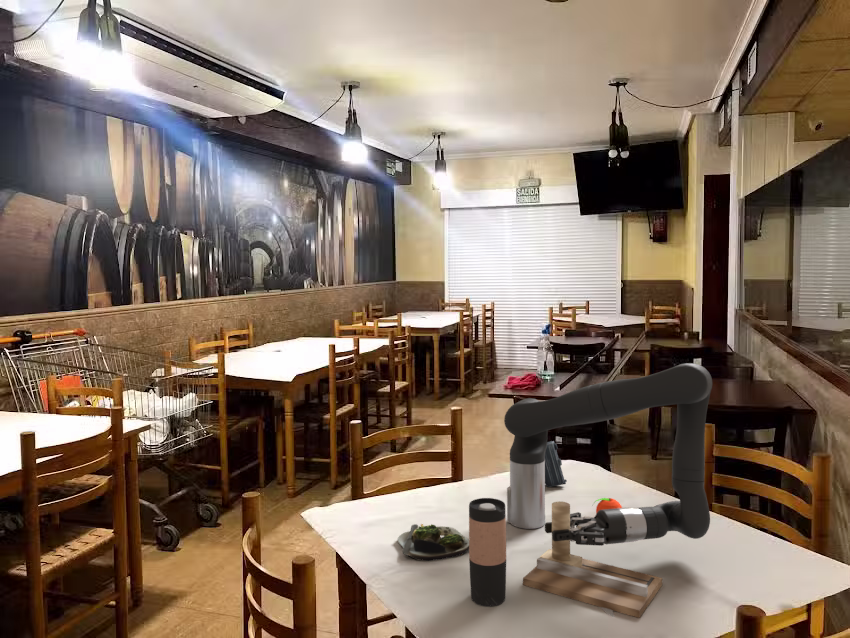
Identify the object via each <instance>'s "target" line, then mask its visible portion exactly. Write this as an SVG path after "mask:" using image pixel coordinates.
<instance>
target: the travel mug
mask: <svg viewBox="0 0 850 638" xmlns="http://www.w3.org/2000/svg"><path fill="white" fill-rule="evenodd" d="M468 503H469V505H468V540H469V549H468V560H469V561H468V562H469V563H468V564H469V578H470V579H469V581H470V597H471V601H472V602H473V603H475V605H479V606H482V607H497V606H500V605H502V604H503V603H504V602H505V601H506V595H507V593H506V592H507V589H506V588H507V587H506V586H507V525H506V524H507V522H506V521H507V520H506V519H507V518H506V517H507V513H506V504H505V502H504V501H503V500H500V499H498V498H493V497H482V498H481V497H480V498H476V499H472V500H471V501H470V502H468Z"/></svg>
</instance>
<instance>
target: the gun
mask: <svg viewBox="0 0 850 638" xmlns="http://www.w3.org/2000/svg"><path fill="white" fill-rule="evenodd" d="M557 450H558V444H557V443H555V441H554V440H553V441H552V440H551V441H547V448H546V452H545V487H547V488H551V487H556V486H563V485H566V484H567V479H566V478H565V477H564V473H563V470H562V465H563V462H562V459H561V458H559V455H558V452H557Z"/></svg>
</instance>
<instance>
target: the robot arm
mask: <svg viewBox="0 0 850 638" xmlns="http://www.w3.org/2000/svg"><path fill="white" fill-rule="evenodd" d="M712 389H713V379H712V376H711V374H710V372H709V371H708V370H707V369H706V368H705V367H704V366H702V365H701V364H698V363H691V362H689V363H687V362H686V363H681V364H678V365H676V366H673V367H670V368H667V369H664V370H662V371H659V372H656V373H653V374H650V375H645V376H641V377H636V378H621V379H616V380H615V379H614V380H609V381H604V382H599V383H595V384H591V385H586V386H584V387H580V388H578V389H574V390H572V391H569V392H567V393H566V392H565V393H564V394H562V395H560V396H557V397H554V398H550V399H546V400H541V401H540V400H538V399H536V398H531V397H528V398H524V399H521V400H519V401H518V402H515V403H514V404H512V405H511V406H510V407H509V408H508V409H507V411H506V412H505V415H504V419H503V420H504V426H505V428H506V429H507V431H508V432H509V433H510V434H511V435H514V438H513V443H512V445H511V446H510V448H509V486H508V487H507V488H506V509H507V510H506V517H507V518H506V519H507V520H506V521H507V522H506V523H509V524H511V525H512V526H514V527H517V528H520V529H527V530H530V529H531V530H532V529H533V530H534V529H540V528H541V527H544V532H545V533H547V534H551V540H552V539H553V540H554V541H564V540H570V542H575V544H576V545H580V546H604V545H614V544H623V543H624V544H625V543H634V542H638V541H643V540H652V539H653V540H654V539H660V538H663V537H665V536H666V535H667V533H668V532H678V533H679V534H682V535H684V536H685V537H688V538H690V539H695V540H696V539H698V540H699V539H701V538H703V537H704V536H705V535H706V534H707V533H708V530H709V528H710V524H711V513H710V508H709V503H708V498H707V493H706V490H705V470H706V469H705V467H706V466H705V462H706V461H705V460H706V458H705V457H706V456H705V454H706V453H705V452H706V451H705V449H706V448H705V446H706V445H705V444H706V443H705V440H706V439H705V436H706V435H705V432H706V422H707V420H706V419H707V412H708V407H709V406H708V405H709V402H710V397H711V392H712ZM672 405H676V407H677V408H676V409H677V420H676V421H677V423H676V433H675V438H674V439H675V440H674V444H673V450H672V459H671V462H672V463H671V487H672V489H673V490H674V491H675V492H676V493H677V494H678V497H679V500H672V501H668V502H664V503H660V504H657V505H655V506H641V507H622V508H615V509H604V510H599V511H598V512H597V514H595V516H593V517H591V516H583V517H582V513H581V512H578V511H577V512H573V513H570V531H569V530H568V529H564V530H554V531H552V521H550V522H548V521H547V522H546V484H545V452H546V448H547V442H548V431H550V430H554V429H558V428H563V427H571V426H573V427H574V426H579V425H588V424H594V423H600V422H604V421H605V422H606V421H610V420H616V419H619V418H622V417H626V416H629V415H632V414H636V413H638V412H640V411H644V410H646V409H650V408H651V409H652V408H655V407H656V408H657V407H662V406H672Z"/></svg>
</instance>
